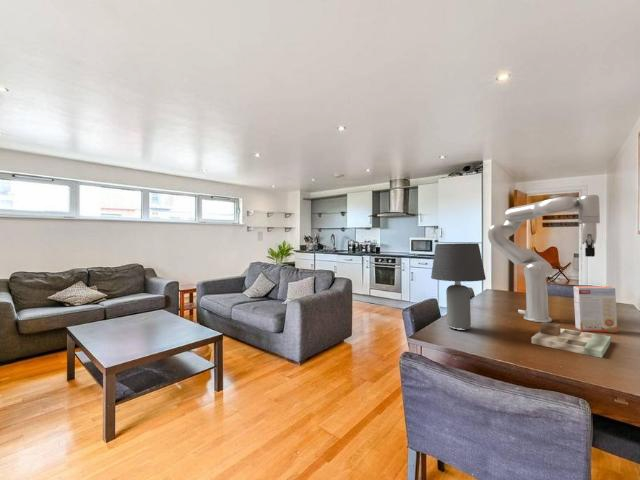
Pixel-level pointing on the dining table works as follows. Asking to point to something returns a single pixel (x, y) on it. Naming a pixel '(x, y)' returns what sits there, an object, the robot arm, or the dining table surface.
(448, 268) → the lamp
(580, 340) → the plate
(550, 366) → the dining table surface
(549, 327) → the brown block
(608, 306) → the cracker box
